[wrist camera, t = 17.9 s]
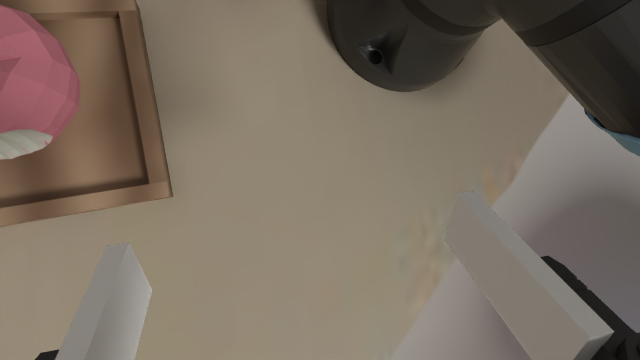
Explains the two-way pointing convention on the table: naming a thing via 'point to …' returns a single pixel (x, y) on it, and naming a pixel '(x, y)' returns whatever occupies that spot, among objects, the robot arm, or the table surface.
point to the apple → (33, 85)
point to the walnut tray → (92, 119)
